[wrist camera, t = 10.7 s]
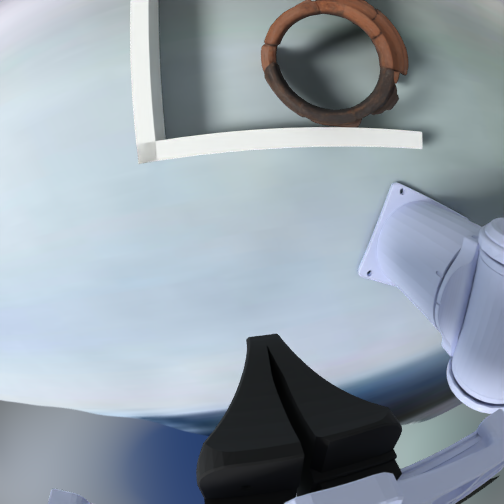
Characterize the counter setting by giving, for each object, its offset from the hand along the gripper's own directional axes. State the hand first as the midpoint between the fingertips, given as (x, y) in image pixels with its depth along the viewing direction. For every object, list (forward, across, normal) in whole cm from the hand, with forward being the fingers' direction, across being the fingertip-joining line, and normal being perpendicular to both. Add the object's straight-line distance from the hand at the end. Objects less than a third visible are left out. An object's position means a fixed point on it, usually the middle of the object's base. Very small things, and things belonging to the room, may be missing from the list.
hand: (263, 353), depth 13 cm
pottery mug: (+10, -7, -16) cm, 20 cm away
